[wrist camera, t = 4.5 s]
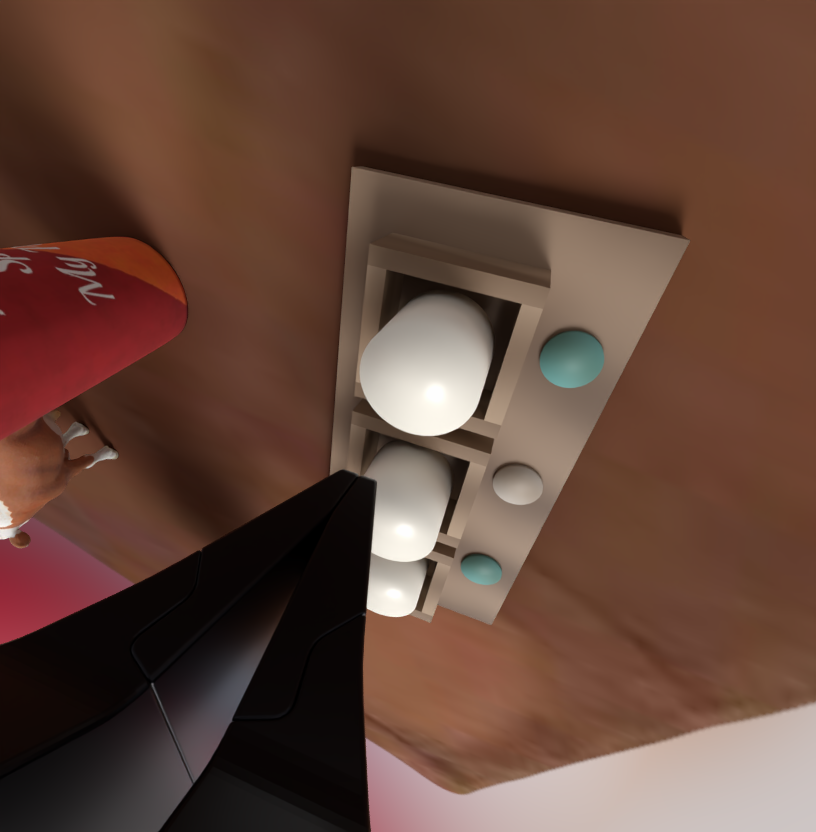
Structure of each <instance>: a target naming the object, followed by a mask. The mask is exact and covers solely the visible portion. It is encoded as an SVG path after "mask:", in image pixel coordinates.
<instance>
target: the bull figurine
mask: <svg viewBox="0 0 816 832" xmlns="http://www.w3.org/2000/svg"><path fill="white" fill-rule="evenodd" d="M60 415H61V414H60V411H58V410H55V411H50V412H49V413H47V414H45V415H43V416H42V417H40V418H38V419H37V420H35V421H33V422H31V423H30V424H28V425H26V426H25V427H23V428H21V429H19V430H18V431H16V432H14V433H13V434H11V435H9V436H7V437H6V438H4V439H2V440H1V441H0V539H6V538H9V539H10V542H11V543H12V545H14V546H15V547H17V548H24V547H27V546H28V545H29V543H30V537H29V535H28V534H27V533H25V532H22V531H20V530H19V527H20V526H22V525H23V524H25V523H26V522H28V521H29V519H30V518H32V517H33V516H34V515H35V514H36V513H37V512H38V511H39V510H40V509H41V508H42V507H43V506H45V505H46V503H47V502H48V501H50V500H52V499H54V498H56V497H57V496H59V495H60V494H61V493H62V492H63V491H64V489H65V487H66V485H67V483H68V481H69V480H70V479H71V478H73V477H75V476H76V475H77V474H78V473H79V472H81V471H82V470H83V469H85V468H89V467H92V466H93V465H94V464H95V463H96V462H98V461H100V460H105V459H117V458H118V456H119V455H118V452H117V451H115V450H113V449H111V448H109V447H108V446H104V447H103V448H101V449H100V450H99V451H98V452H96V453H94V454H86V455H83V456H81V457H79V458H77V459H74V460H71V459H70V455H69V451H68V450H67V449H65V448H64V447H65V446H66V444H67V443H68V442H69V440H71V439H72V438H74V437H77V436H79V435H85V434H88V433H89V430H88V428H87V427H85V426H84V425H82V424H80V423H78V422H74V423H72V425H71V427H70V428H69V429H68V431H67V432H66V433H65V434H62V432H61V430H60V428H59V426H58V425H57V424H56V423H55V421H56V419H57V418H59V417H60Z"/></svg>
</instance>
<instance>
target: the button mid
mask: <svg viewBox="0 0 816 832" xmlns="http://www.w3.org/2000/svg"><path fill="white" fill-rule="evenodd" d="M364 476H366V477H369V478H372V479H375V480H376V481H377V491H376V503H375V515H374V527H373V539H372V550H371V552H372V553H374V554H375V555H377V556H380V557H382V558H385V559H388V560H393V561H399V562H411V561H416V560H419V559H422V558H424V557H425V556H427V555H428V554H429V553H430V552H431V551H432V550H433V548H434V546H435V543H436V540H437V537H438V533H439V530H440V527H441V524H442V520H443V517H444V514H445V511H446V507H447V504H448V501H449V498H450V495H451V491H452V488H453V484H454V475H453V471H452V468H451V466H450V464H449V462H448V461H447V460H446V458H445V457H444V456H443V455H442V454H441V453H440V452H438V451H435V450H432V449H429V448H426V447H423V446H419V445H416V444H413V443H410V442H407V441H404V440H401V439H400V440H394V441H391V442H389V443H387V444H385V445H384V446H383V447H382V448H381V449H380V450H379V451H378V453H377V454H376V456H375V458H374V459H373V461H372V463H371V464H370V466H369V468H368V469H367V471H366V473H365V474H364Z"/></svg>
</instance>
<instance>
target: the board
mask: <svg viewBox="0 0 816 832" xmlns="http://www.w3.org/2000/svg"><path fill="white" fill-rule="evenodd" d="M689 242H690V240H689V239H687V238H686V237H684V236H682V235H678V234H673V233H669V232H664V231H659V230H655V229H650V228H645V227H641V226H636V225H632V224H627V223H622V222H618V221H613V220H608V219H604V218H599V217H595V216H590V215H585V214H581V213H576V212H571V211H567V210H562V209H558V208H553V207H548V206H544V205H539V204H534V203H530V202H525V201H521V200H516V199H511V198H507V197H502V196H497V195H493V194H488V193H484V192H479V191H474V190H470V189H465V188H460V187H456V186H451V185H447V184H442V183H437V182H433V181H428V180H423V179H419V178H414V177H410V176H405V175H400V174H396V173H391V172H386V171H382V170H377V169H372V168H368V167H363V166H358V167H352V172H351V186H350V200H349V214H348V228H347V242H346V256H345V269H344V283H343V297H342V311H341V325H340V339H339V353H338V367H337V381H336V395H335V409H334V423H333V437H332V451H331V465H330V475H332V474H334V473H335V472H337V471H339V470H341V469H345V470H348V471H351V472H354V473H357V474H358V475H359V476H361V475H363V476H364V474H365V473H366V471H367V469H368V468H369V466H370V464H371V463H372V461H373V459H374V458H375V456H376V454H377V453H378V451H379V450H380V449H381V448H382V447H383V446H384V445H385V444H387V443H389V442H391V441H394V440H400V439H401V440H404V441H407V442H410V443H413V444H416V445H419V446H423V447H426V448H429V449H432V450H435V451H438V452H440V453H441V454H442V455H443V456H444V457H445V458H446V460H447V461H448V462H449V464H450V466H451V468H452V471H453V475H454V484H453V488H452V491H451V495H450V498H449V501H448V504H447V507H446V511H445V514H444V517H443V520H442V524H441V527H440V530H439V533H438V537H437V540H436V543H435V546H434V548H433V550H432V551H431V552H430V553H429V554H428V555H427V556H425V558H428V559H431V560H430V563H429V566H428V569H427V573H426V576H425V579H424V582H423V586H422V589H421V592H420V595H419V598H418V602H417V605H416V608H415V609H414V611H413V612H412V613H410V614H409V615H412V616H414V617H417V618H420V619H422V620H425V621H427V622H430V623H431V620H432V618H433V615H434V612H435V609H436V606H437V605H439V606H442V607H445V608H447V609H450V610H453V611H455V612H458V613H461V614H463V615H466V616H469V617H471V618H474V619H477V620H479V621H482V622H485V623H487V624H490V625H492V623H493V621H494V619H495V617H496V615H497V613H498V611H499V609H500V607H501V606H502V604H503V602H504V600H505V598H506V596H507V594H508V592H509V590H510V588H511V586H512V584H513V582H514V580H515V578H516V577H517V575H518V573H519V571H520V569H521V567H522V565H523V563H524V561H525V559H526V557H527V555H528V553H529V551H530V549H531V548H532V546H533V544H534V542H535V540H536V538H537V536H538V534H539V532H540V530H541V528H542V526H543V524H544V522H545V520H546V519H547V517H548V515H549V513H550V511H551V509H552V507H553V505H554V503H555V501H556V499H557V497H558V495H559V493H560V491H561V490H562V488H563V486H564V484H565V482H566V480H567V478H568V476H569V474H570V472H571V470H572V468H573V466H574V464H575V462H576V461H577V459H578V457H579V455H580V453H581V451H582V449H583V447H584V445H585V443H586V441H587V439H588V437H589V435H590V433H591V432H592V430H593V428H594V426H595V424H596V422H597V420H598V418H599V416H600V414H601V412H602V410H603V408H604V406H605V404H606V403H607V401H608V399H609V397H610V395H611V393H612V391H613V389H614V387H615V385H616V383H617V381H618V379H619V377H620V375H621V374H622V372H623V370H624V368H625V366H626V364H627V362H628V360H629V358H630V356H631V354H632V352H633V350H634V348H635V346H636V345H637V343H638V341H639V339H640V337H641V335H642V333H643V331H644V329H645V327H646V325H647V323H648V321H649V319H650V317H651V315H652V314H653V312H654V310H655V308H656V306H657V304H658V302H659V300H660V298H661V296H662V294H663V292H664V290H665V288H666V286H667V285H668V283H669V281H670V279H671V277H672V275H673V273H674V271H675V269H676V267H677V265H678V263H679V261H680V259H681V257H682V256H683V254H684V252H685V250H686V248H687V246H688V244H689ZM433 290H449V291H455V292H458V293H461V294H463V295H465V296H467V297H469V298H470V299H472V300H473V301H475V302H476V303H477V304H478V305H479V306H480V307H481V308H482V309H483V310H484V311H485V313H486V314H487V316H488V317H489V319H490V321H491V323H492V326H493V329H494V334H495V350H494V355H493V358H492V361H491V365H490V368H489V371H488V374H487V377H486V381H485V384H484V387H483V390H482V394H481V397H480V400H479V403H478V405H477V408H476V410H475V411H474V413H473V415H472V416H471V417H470V418H469V420H468V421H466V422H465V423H464V424H463V425H462V426H460V427H459V428H457V429H455V430H453V431H451V432H448V433H445V434H441V435H435V436H421V435H415V434H411V433H407V432H405V431H402V430H400V429H398V428H396V427H394V426H392V425H391V424H389V423H388V422H386V421H385V420H384V419H383V418H381V417H380V416H379V415H378V414H377V413H376V411H375V410H374V409H373V408H372V407H371V405H370V404H369V402H368V400H367V398H366V396H365V394H364V392H363V389H362V386H361V381H360V362H361V358H362V355H363V352H364V350H365V348H366V346H367V345H368V343H369V342H370V341H371V340H372V339H373V338H374V337H375V336H376V335H377V334H378V333H379V332H380V331H381V329H382V328H383V327H384V326H385V325H386V324H387V323H388V322H389V321H390V320H391V319H392V318H393V317H394V316H395V315H396V314H397V313H398V312H399V311H400V310H401V309H402V308H403V307H404V306H405V305H406V304H407V303H408V302H409V301H410V300H412V299H413V298H414V297H416V296H418V295H420V294H422V293H425V292H428V291H433Z"/></svg>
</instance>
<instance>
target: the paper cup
mask: <svg viewBox="0 0 816 832" xmlns="http://www.w3.org/2000/svg"><path fill="white" fill-rule="evenodd" d="M187 318H188V304H187V298H186V295H185V291H184V289H183V286H182V284H181V282H180V280H179V278H178V276H177V274H176V273H175V271H174V270H173V268H172V267H171V266H170V264H169V263H168V262H167V261H166V260H165V259H164V258H163V256H162V255H160V254H159V253H158V252H157V251H156V250H155V249H153V248H152V247H151V246H149V245H148V244H146V243H144V242H142V241H140V240H137V239H134V238H130V237H105V238H94V239H83V240H74V241H64V242H55V243H46V244H36V245H28V246H19V247H10V248H1V249H0V441H1V440H2V439H4V438H6V437H7V436H9V435H11V434H13V433H14V432H16V431H18V430H19V429H21V428H23V427H25V426H26V425H28V424H30V423H31V422H33V421H35V420H37V419H38V418H40V417H42V416H43V415H45V414H47V413H49V412H50V411H52V410H54V409H56V408H57V407H59V406H61V405H62V404H64V403H66V402H68V401H69V400H71V399H73V398H74V397H76V396H78V395H80V394H81V393H83V392H85V391H86V390H88V389H90V388H91V387H93V386H95V385H97V384H98V383H100V382H102V381H103V380H105V379H107V378H109V377H110V376H112V375H114V374H115V373H117V372H119V371H121V370H122V369H124V368H126V367H127V366H129V365H131V364H132V363H134V362H136V361H137V360H139V359H141V358H142V357H144V356H146V355H147V354H149V353H151V352H152V351H154V350H156V349H157V348H159V347H161V346H162V345H164V344H165V343H167V342H169V341H170V340H172V339H173V338H174V337H176V336H177V335H178V334H179V333H181V331H182V330H183V329H184V327H185V325H186V322H187Z"/></svg>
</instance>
